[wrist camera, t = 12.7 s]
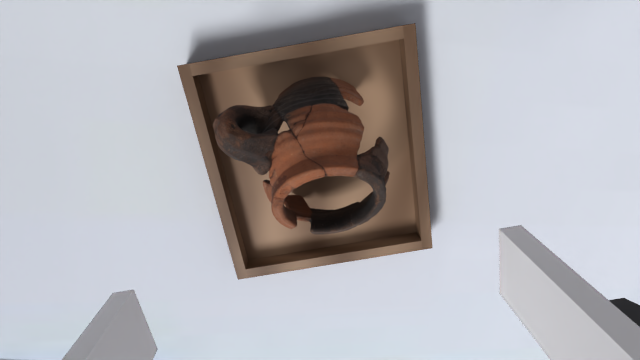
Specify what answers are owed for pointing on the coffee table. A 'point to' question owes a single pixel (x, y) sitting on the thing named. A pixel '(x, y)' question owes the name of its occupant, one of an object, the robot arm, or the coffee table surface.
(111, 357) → the robot arm
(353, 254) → the walnut tray
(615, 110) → the coffee table surface
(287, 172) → the pottery mug
